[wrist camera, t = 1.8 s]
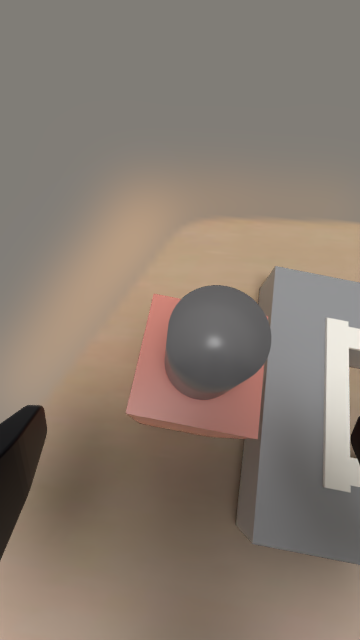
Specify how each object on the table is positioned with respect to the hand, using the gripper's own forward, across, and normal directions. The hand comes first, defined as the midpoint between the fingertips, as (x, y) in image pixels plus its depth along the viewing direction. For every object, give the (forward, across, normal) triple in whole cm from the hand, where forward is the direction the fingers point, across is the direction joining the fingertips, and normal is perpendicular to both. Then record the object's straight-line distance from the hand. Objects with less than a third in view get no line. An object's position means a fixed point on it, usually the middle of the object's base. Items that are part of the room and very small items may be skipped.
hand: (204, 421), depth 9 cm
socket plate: (+7, -11, +6) cm, 15 cm away
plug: (+8, 0, +6) cm, 10 cm away
